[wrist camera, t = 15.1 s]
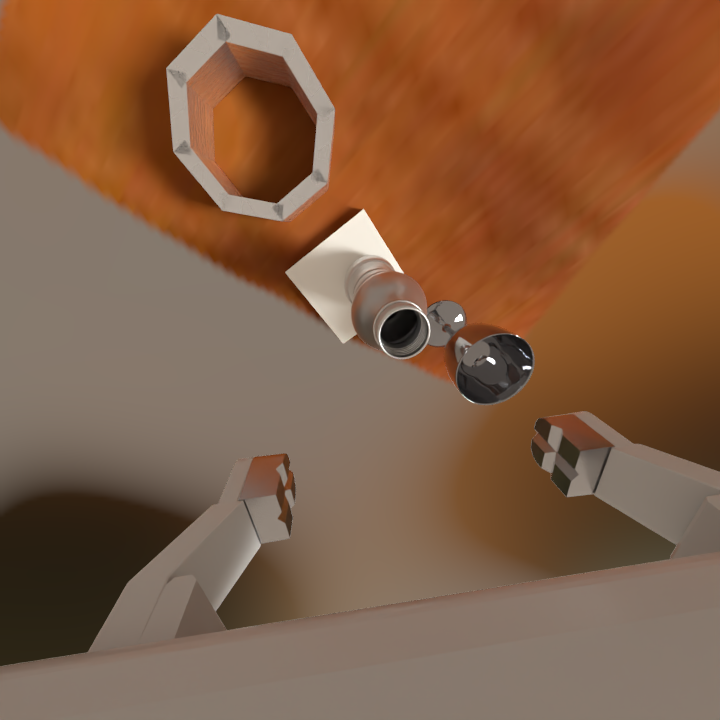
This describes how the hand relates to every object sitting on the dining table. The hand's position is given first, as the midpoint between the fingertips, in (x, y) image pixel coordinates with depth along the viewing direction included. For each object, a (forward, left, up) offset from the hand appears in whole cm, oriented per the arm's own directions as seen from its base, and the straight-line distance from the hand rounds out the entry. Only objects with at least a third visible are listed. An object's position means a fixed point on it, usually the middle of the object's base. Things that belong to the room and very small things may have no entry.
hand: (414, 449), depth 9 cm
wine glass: (-7, +13, -32) cm, 35 cm away
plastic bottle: (-2, +1, -31) cm, 31 cm away
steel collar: (-1, -17, -32) cm, 36 cm away
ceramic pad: (0, 0, -32) cm, 32 cm away
